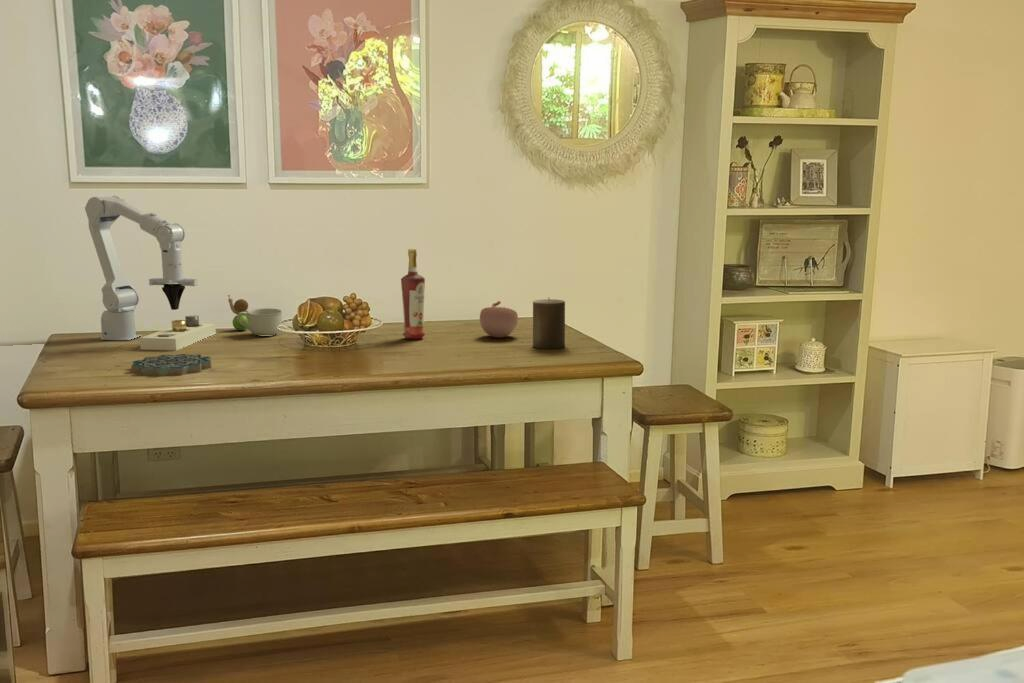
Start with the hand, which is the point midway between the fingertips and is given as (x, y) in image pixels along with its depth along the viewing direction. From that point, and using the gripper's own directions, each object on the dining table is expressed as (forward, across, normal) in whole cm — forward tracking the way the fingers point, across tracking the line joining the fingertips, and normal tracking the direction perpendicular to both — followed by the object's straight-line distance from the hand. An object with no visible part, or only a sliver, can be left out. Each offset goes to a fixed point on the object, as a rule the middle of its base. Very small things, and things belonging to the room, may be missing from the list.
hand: (174, 309), depth 291 cm
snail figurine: (+11, +10, +24) cm, 28 cm away
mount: (+10, 0, +2) cm, 11 cm away
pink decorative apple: (+10, +96, +24) cm, 99 cm away
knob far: (+7, 0, +11) cm, 13 cm away
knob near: (+10, 0, -7) cm, 12 cm away
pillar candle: (+10, +113, +11) cm, 114 cm away
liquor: (+10, +70, +18) cm, 73 cm away
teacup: (+11, +20, +17) cm, 28 cm away
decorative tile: (+11, +17, -35) cm, 40 cm away
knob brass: (+7, 0, +2) cm, 7 cm away
